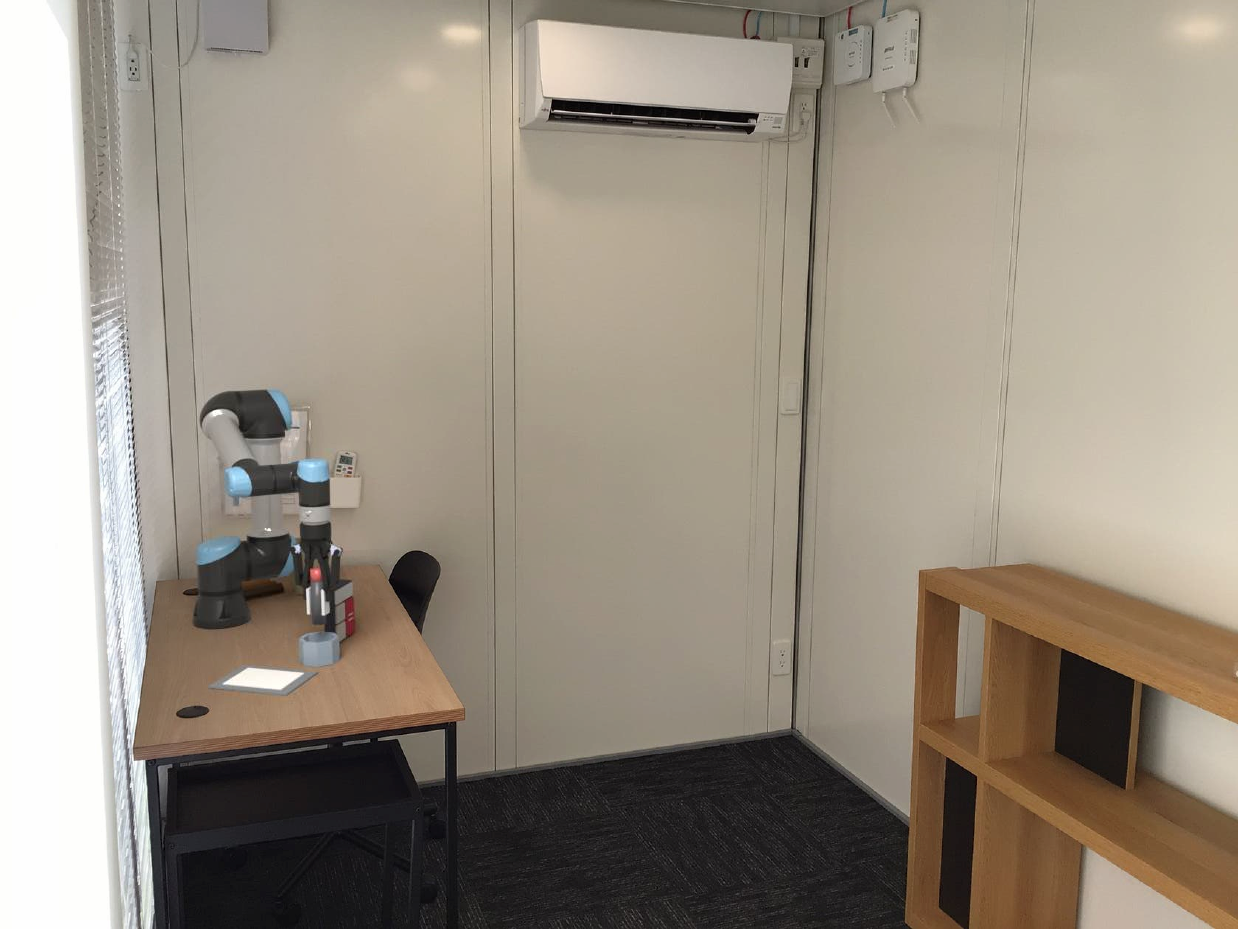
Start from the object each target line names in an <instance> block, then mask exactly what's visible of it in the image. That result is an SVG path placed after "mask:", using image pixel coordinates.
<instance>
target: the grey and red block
mask: <svg viewBox="0 0 1238 929" xmlns="http://www.w3.org/2000/svg"><path fill="white" fill-rule="evenodd" d="M353 595H354V582H353V580H352V579H342V578H340V581H339V585H338V586H336V587H334V588H332V601H330V602H329V605H330V613H328V614H326V623H325V624H323V625H324V632H333V633H335V634H336V635H338V636H339V643H340V642H342V641H343V640H344V639H346V638H348V637H349V636H350V635H352V634H354V632H355V629H356V628H355V599H354V598H355V597H354V596H353Z"/></svg>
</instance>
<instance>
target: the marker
mask: <svg viewBox="0 0 1238 929" xmlns="http://www.w3.org/2000/svg"><path fill="white" fill-rule="evenodd" d="M310 584H311V624H312V625H315V626H322V625H324V624H325V623H326V615H325V616H324V615H322V605H321V590H322V589H323V588H324V586H323V581H322V575H321V570H320V567H314V568H311V569H310Z"/></svg>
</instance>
